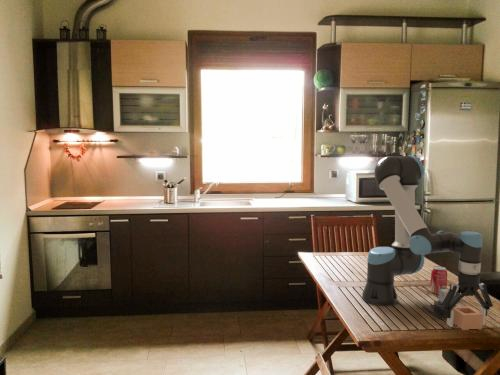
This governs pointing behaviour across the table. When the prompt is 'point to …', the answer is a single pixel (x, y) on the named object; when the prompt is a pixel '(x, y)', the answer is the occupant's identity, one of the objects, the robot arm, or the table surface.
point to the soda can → (438, 279)
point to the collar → (467, 318)
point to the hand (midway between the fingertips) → (465, 324)
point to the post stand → (438, 305)
